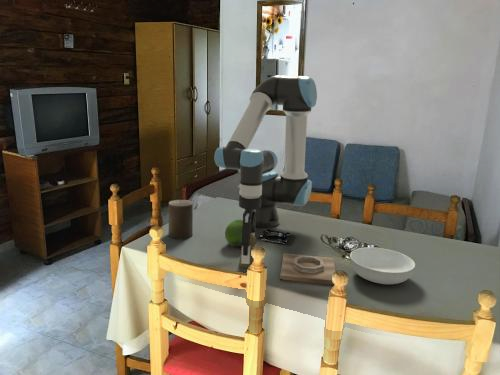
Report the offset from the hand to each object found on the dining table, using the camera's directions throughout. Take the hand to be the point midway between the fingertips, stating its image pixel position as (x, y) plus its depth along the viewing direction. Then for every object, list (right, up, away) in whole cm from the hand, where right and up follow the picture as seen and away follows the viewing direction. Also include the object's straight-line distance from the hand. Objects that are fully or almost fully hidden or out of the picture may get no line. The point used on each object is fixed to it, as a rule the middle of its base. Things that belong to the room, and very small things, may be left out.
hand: (247, 256), depth 146 cm
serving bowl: (+44, -6, -5) cm, 45 cm away
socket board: (+21, -4, -2) cm, 21 cm away
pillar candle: (-28, +4, +26) cm, 38 cm away
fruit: (-3, +2, +19) cm, 19 cm away
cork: (0, -3, +1) cm, 3 cm away
